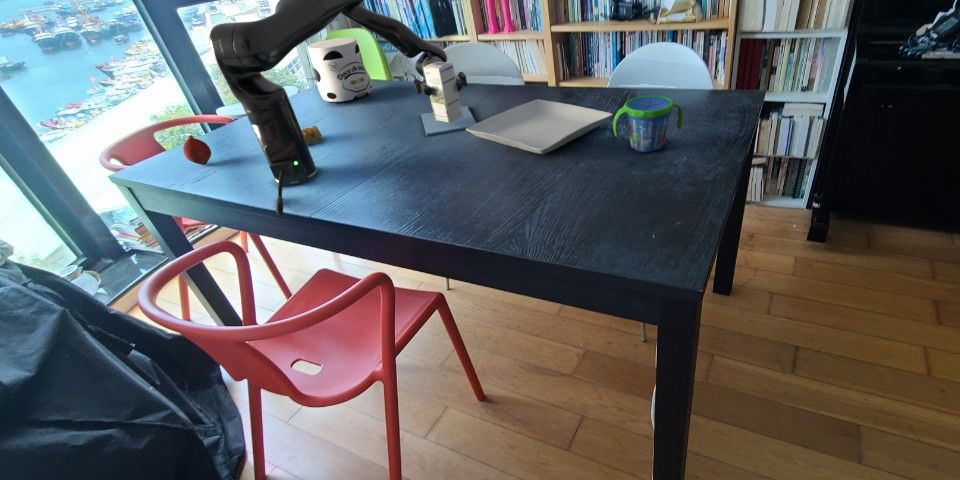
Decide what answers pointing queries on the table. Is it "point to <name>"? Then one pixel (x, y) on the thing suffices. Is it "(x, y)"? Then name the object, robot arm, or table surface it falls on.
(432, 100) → the syrup box
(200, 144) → the onion
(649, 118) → the snack cup
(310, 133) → the pastry
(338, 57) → the doce de leite tin
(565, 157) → the table surface
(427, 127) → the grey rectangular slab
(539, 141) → the square plate
